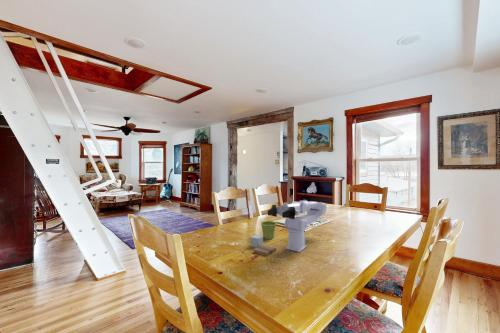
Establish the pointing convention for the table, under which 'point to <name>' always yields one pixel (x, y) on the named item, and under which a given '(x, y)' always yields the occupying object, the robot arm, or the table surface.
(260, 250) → the slab
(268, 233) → the plant pot
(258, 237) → the block
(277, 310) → the table surface
